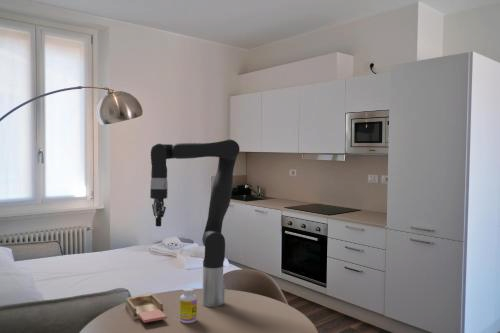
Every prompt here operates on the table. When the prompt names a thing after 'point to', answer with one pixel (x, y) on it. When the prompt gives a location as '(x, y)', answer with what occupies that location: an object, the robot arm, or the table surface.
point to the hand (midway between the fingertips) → (158, 226)
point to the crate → (142, 305)
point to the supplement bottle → (188, 305)
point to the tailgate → (152, 316)
